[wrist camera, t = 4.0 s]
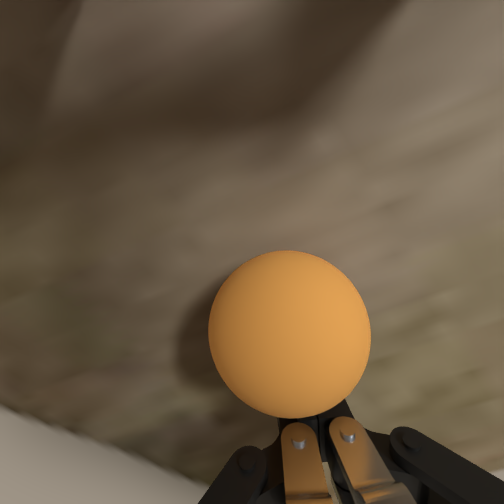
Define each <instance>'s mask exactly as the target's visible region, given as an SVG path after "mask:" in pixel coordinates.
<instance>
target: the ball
mask: <svg viewBox="0 0 504 504" xmlns="http://www.w3.org/2000/svg"><path fill="white" fill-rule="evenodd" d="M208 337H209V345H210V350H211V354H212V358H213V360H214V363H215V366H216V368H217V370H218V372H219V374H220V376H221V377H222V379H223V381H224V382H225V383H226V385H227V386H228V387H229V389H230V390H231V391H232V392H233V393H234V394H235V395H236V396H237V397H238V398H239V399H241V400H242V401H243V402H244V403H246V404H247V405H249V406H251V407H252V408H254V409H256V410H258V411H260V412H262V413H265V414H267V415H271V416H275V417H280V418H304V417H309V416H314V415H317V414H320V413H322V412H325V411H327V410H329V409H331V408H332V407H334V406H336V405H337V404H338V403H340V402H341V401H342V400H343V399H344V398H345V397H347V396H348V395H349V394H350V393H351V391H352V390H353V389H354V387H355V386H356V385H357V383H358V382H359V380H360V378H361V376H362V374H363V372H364V370H365V367H366V365H367V361H368V357H369V353H370V344H371V330H370V323H369V318H368V314H367V311H366V308H365V305H364V303H363V301H362V298H361V297H360V295H359V293H358V291H357V290H356V288H355V287H354V286H353V284H352V283H351V281H350V280H349V279H348V278H347V277H346V276H345V275H344V274H343V273H342V272H341V271H339V270H338V269H337V268H336V267H334V266H333V265H331V264H330V263H328V262H327V261H325V260H323V259H321V258H319V257H317V256H314V255H311V254H308V253H304V252H299V251H289V250H287V251H275V252H269V253H265V254H262V255H259V256H257V257H255V258H252V259H250V260H249V261H247V262H245V263H244V264H242V265H241V266H240V267H238V268H237V269H236V270H235V271H234V272H233V273H232V274H231V275H230V276H229V277H228V278H227V279H226V281H225V282H224V283H223V285H222V286H221V288H220V289H219V291H218V293H217V295H216V297H215V300H214V302H213V305H212V309H211V312H210V317H209V325H208Z"/></svg>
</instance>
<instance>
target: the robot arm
mask: <svg viewBox="0 0 504 504" xmlns="http://www.w3.org/2000/svg"><path fill="white" fill-rule="evenodd" d="M277 420H278V427H279V436H278V438H277V439H276V441H275V442H274V443H273V444H272V445H270V446H269V447H267V448H265V449H263V450H260V449H258V448H257V447H254V446H244V447H242V448H240V449H238V450H237V451H236V452H235V453H234V454H233V455H232V457H231V458H230V459H229V461H228V462H227V464H226V465H225V466H224V468H223V469H222V471H221V472H220V473H219V475H218V476H217V478H216V479H215V480H214V482H213V483H212V485H211V486H210V487H209V489H208V490H207V492H206V493H205V495H204V496H203V497H202V499H201V500H200V501H199V503H198V504H333V502H332V498H331V495H329V493H328V489H327V484H326V480H325V475H324V470H323V466H322V462H328V465H329V468H330V471H331V483H332V486H333V489H334V491H335V494H336V497H337V500H338V502H339V504H504V481H502V480H500V479H499V478H497V477H495V476H494V475H492V474H490V473H489V472H487V471H485V470H483V469H482V468H480V467H478V466H477V465H475V464H473V463H471V462H470V461H468V460H466V459H465V458H463V457H461V456H460V455H458V454H456V453H454V452H453V451H451V450H449V449H448V448H446V447H444V446H442V445H441V444H439V443H437V442H436V441H434V440H432V439H431V438H429V437H427V436H425V435H424V434H422V433H420V432H419V431H417V430H415V429H412V428H409V427H397V428H395V429H393V430H392V432H391V434H390V435H387V434H381V433H376V432H372V431H369V430H367V429H365V428H364V427H363V426H362V425H361V424H360V423H359V422H358V421H356V420H355V419H354V417H353V415H352V413H351V411H350V409H349V407H348V404H347V402H346V400H345V398H344V399H343V400H342V401H341V402H340V403H338V404H337V405H336V406H334V407H332V408H331V409H329V410H327V411H325V412H322V413H320V414H317V415H314V416H309V417H304V418H280V417H277Z"/></svg>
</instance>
